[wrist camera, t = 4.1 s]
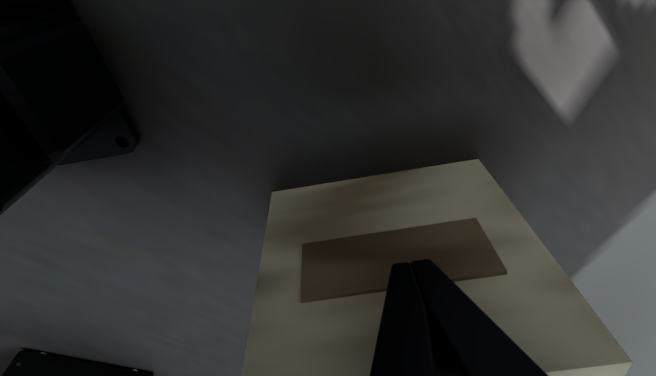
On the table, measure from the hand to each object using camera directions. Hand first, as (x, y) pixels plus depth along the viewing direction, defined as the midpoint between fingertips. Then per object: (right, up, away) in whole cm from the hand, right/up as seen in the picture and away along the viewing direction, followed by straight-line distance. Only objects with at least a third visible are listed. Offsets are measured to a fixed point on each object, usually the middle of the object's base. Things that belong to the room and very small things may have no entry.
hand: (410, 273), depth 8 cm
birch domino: (0, +1, +8) cm, 8 cm away
